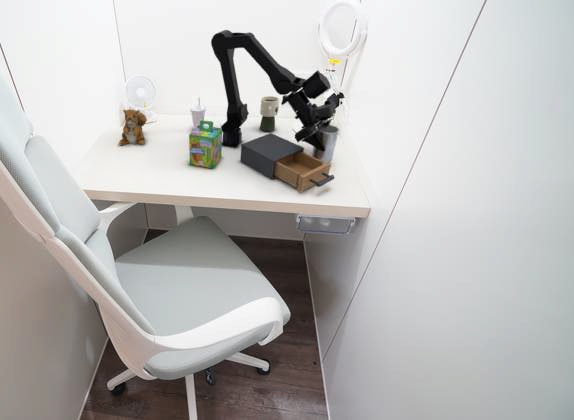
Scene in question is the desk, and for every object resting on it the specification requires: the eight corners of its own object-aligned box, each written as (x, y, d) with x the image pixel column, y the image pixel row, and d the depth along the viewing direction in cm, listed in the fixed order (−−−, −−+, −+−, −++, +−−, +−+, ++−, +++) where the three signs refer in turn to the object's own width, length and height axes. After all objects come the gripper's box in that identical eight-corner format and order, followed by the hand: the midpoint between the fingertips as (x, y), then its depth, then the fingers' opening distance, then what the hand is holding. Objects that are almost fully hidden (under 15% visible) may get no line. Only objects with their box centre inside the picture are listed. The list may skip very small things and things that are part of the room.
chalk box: (189, 165, 114) (187, 125, 105) (198, 153, 121) (197, 115, 112) (213, 169, 111) (213, 129, 102) (222, 157, 118) (222, 118, 109)
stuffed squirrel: (118, 146, 128) (112, 114, 120) (128, 131, 139) (123, 101, 131) (142, 147, 127) (138, 114, 119) (151, 132, 138) (147, 101, 130)
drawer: (338, 182, 101) (342, 168, 98) (311, 198, 95) (314, 183, 92) (293, 160, 113) (295, 147, 110) (266, 172, 107) (267, 159, 104)
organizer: (301, 165, 112) (304, 147, 107) (271, 179, 105) (274, 161, 101) (268, 150, 122) (270, 132, 118) (240, 161, 115) (241, 144, 111)
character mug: (276, 135, 132) (280, 103, 124) (258, 134, 133) (261, 103, 125) (275, 124, 140) (279, 94, 132) (258, 124, 141) (261, 94, 133)
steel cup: (311, 162, 110) (318, 132, 103) (310, 153, 115) (316, 123, 108) (332, 164, 108) (340, 133, 102) (330, 154, 114) (337, 125, 107)
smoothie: (205, 133, 135) (204, 100, 126) (190, 133, 136) (188, 100, 127) (206, 127, 140) (206, 95, 131) (192, 127, 141) (190, 94, 132)
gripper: (310, 101, 95) (339, 146, 96) (334, 85, 106) (359, 125, 107) (282, 121, 103) (309, 161, 105) (307, 104, 115) (330, 141, 116)
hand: (328, 146), depth 108 cm, fingers closed on steel cup, 7 cm apart
